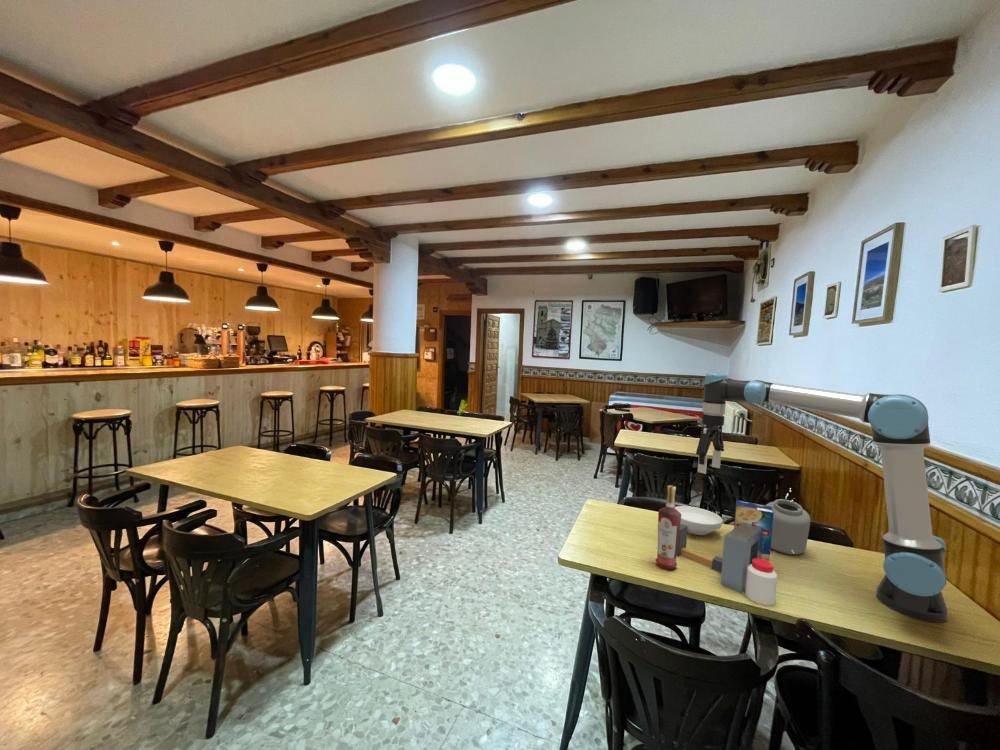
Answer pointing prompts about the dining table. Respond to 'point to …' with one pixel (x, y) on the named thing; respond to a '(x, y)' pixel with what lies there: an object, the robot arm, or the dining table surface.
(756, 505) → the blue food box
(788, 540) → the jar
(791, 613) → the dining table surface
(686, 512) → the bowl
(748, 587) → the pill bottle
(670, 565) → the red glass bottle
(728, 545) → the block
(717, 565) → the hammer
